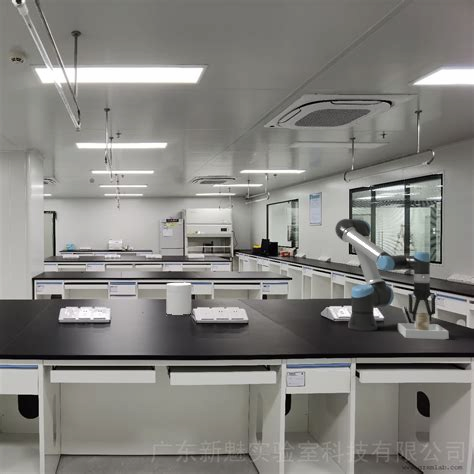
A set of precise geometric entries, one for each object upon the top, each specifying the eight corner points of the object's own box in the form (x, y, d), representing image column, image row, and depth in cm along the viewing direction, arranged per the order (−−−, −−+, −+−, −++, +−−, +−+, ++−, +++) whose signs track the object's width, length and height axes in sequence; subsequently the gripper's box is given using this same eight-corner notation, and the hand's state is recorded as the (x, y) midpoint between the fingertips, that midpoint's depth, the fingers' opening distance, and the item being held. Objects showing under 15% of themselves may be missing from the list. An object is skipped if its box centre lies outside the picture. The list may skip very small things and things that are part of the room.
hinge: (416, 323, 249) (410, 307, 250) (408, 326, 251) (402, 309, 252) (415, 318, 265) (409, 303, 266) (407, 321, 266) (401, 305, 268)
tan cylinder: (418, 331, 218) (418, 314, 218) (415, 329, 223) (415, 312, 223) (428, 332, 217) (428, 314, 218) (425, 330, 222) (425, 312, 222)
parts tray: (405, 338, 213) (405, 330, 213) (397, 330, 231) (397, 323, 231) (448, 339, 210) (448, 331, 210) (437, 331, 228) (437, 324, 228)
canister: (161, 315, 276) (161, 284, 276) (177, 311, 289) (177, 282, 290) (180, 317, 267) (180, 285, 268) (196, 314, 281) (196, 283, 281)
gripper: (405, 282, 218) (405, 328, 218) (442, 283, 215) (443, 329, 215) (401, 281, 226) (401, 325, 225) (438, 281, 223) (438, 326, 223)
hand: (422, 327), depth 220 cm, fingers closed on tan cylinder, 5 cm apart
